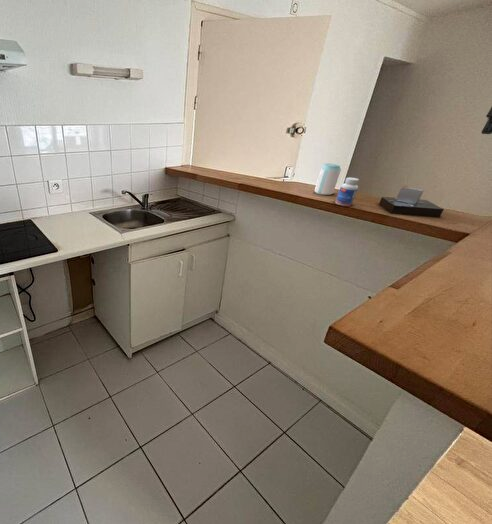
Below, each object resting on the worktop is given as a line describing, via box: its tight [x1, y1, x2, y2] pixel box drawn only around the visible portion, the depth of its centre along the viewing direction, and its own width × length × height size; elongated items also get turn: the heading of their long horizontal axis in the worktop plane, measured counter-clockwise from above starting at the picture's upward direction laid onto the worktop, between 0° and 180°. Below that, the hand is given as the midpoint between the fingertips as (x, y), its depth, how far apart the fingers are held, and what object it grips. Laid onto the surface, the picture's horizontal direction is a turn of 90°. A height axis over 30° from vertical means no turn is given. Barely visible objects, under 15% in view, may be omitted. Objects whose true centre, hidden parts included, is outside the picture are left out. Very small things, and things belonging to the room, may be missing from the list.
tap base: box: [378, 196, 445, 219], centre depth 102 cm, size 14×11×3 cm
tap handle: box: [395, 185, 425, 205], centre depth 100 cm, size 6×2×5 cm, turn 28°
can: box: [314, 163, 342, 196], centre depth 119 cm, size 7×7×12 cm
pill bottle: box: [334, 177, 360, 207], centre depth 107 cm, size 6×5×10 cm
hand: (491, 133), depth 86 cm, fingers open, 8 cm apart
